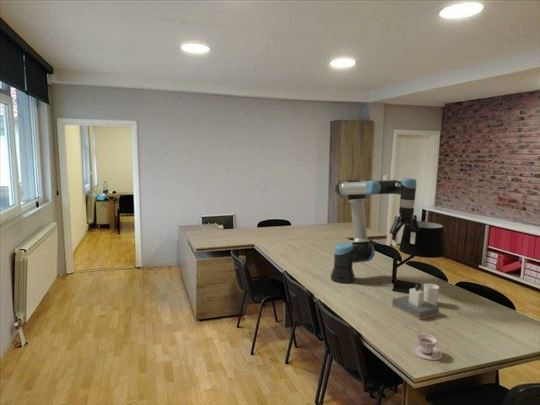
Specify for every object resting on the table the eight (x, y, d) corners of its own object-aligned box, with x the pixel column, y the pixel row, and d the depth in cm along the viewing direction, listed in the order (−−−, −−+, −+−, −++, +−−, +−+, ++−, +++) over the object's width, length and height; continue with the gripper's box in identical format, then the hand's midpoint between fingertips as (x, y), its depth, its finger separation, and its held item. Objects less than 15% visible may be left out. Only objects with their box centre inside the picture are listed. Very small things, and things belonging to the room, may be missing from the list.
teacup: (409, 343, 160) (410, 329, 159) (439, 348, 157) (441, 334, 156) (411, 357, 149) (412, 343, 148) (444, 363, 145) (445, 348, 145)
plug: (408, 307, 195) (410, 283, 193) (413, 305, 197) (415, 282, 195) (417, 311, 190) (419, 287, 188) (422, 310, 192) (424, 286, 190)
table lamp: (395, 278, 243) (399, 218, 237) (442, 286, 230) (447, 223, 225) (389, 291, 220) (393, 225, 214) (441, 300, 208) (447, 230, 202)
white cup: (424, 299, 209) (426, 282, 208) (439, 303, 204) (441, 285, 203) (420, 303, 203) (421, 286, 201) (435, 307, 198) (436, 289, 197)
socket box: (392, 306, 199) (392, 298, 198) (410, 301, 205) (411, 294, 204) (419, 319, 183) (420, 312, 182) (438, 314, 189) (439, 307, 189)
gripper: (395, 209, 192) (391, 248, 196) (428, 206, 204) (425, 244, 207) (384, 207, 199) (381, 245, 202) (417, 204, 210) (414, 241, 213)
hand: (403, 244), depth 205 cm, fingers open, 13 cm apart
